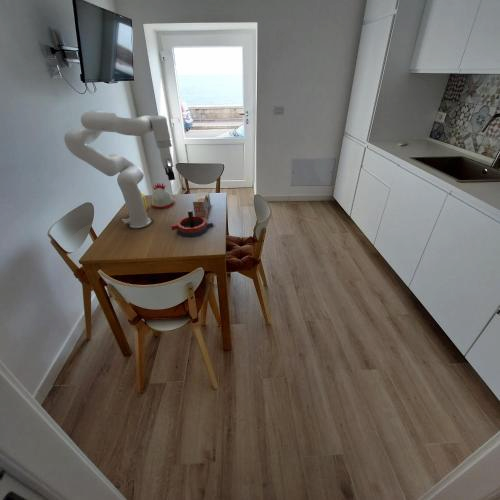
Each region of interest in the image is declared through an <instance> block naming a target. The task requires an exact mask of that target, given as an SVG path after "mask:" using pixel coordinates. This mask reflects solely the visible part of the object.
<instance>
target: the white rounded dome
mask: <svg viewBox="0 0 500 500" xmlns="http://www.w3.org/2000/svg"><path fill="white" fill-rule="evenodd" d="M152 188H153V189H154V190H153V192H152V194H151V207H152V208H153V209H156V210H164V209H165V210H166V209H168V208H171V207H172V206H174V199H173V197H172V195H171V193H170V192H169V191H168V190H167V189H166V185H164V183H160V182H159V183H158V182H157V183H156V184H154V185H153V186H152Z"/></svg>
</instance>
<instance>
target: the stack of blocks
mask: <svg viewBox="0 0 500 500" xmlns="http://www.w3.org/2000/svg"><path fill="white" fill-rule="evenodd" d="M192 205H193V214H194V216H201V217H204V218H205V219H206V220H207V217H208V215H209V211H210V209H211V198H210V192H205V191H204V192H199V193H196V194H195V197H194V198H193V200H192Z"/></svg>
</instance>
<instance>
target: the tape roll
mask: <svg viewBox="0 0 500 500" xmlns="http://www.w3.org/2000/svg"><path fill="white" fill-rule="evenodd" d="M141 194H142V198H143V201H144V205H145V209H146V212H147V211H148V210H149V207H148V204H147V200H146V196H145V194H144V193H141Z"/></svg>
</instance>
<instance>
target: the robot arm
mask: <svg viewBox="0 0 500 500" xmlns="http://www.w3.org/2000/svg"><path fill="white" fill-rule="evenodd" d="M80 123H81V125H80V126H77V127H73V128H71V129H69V130H67V131H66V133H65V134H64V136H63V137H64V138H63V139H64V144H65V146H66V148H67V149H68V151H69V152H70V153H71V154H72V155H73V156H74V157H76V158H78V159H80V160H81V161H83V162H84V163H86V164H88V165H90V166H91V167H92V168H94V169H96V170H97V171H99V172H101V173H102V174H103V175H106V176H107V177H114V176H116V175H118V176H117V178H116V182H117V185H118V187H119V189H120V191H121V194H122V196H123V200H124V203H125V206H126V210H127V213H128V216H129V217H127V218H122V219H121V222H122V223H124V224H128V226H129V227H130V228H132V229H142V228H145V227H149V225H151V224H152V219H151V218H150V217H148V214H147V211H146V209H145V205H144V201H143V198H142V194H143V193H142V191H141V189H140V188H139V185H138V184H139V183H140V182H142V181H143V179H144V176H145V175H144V174H145V173H144V172H143V170H142V169H141V167H139V166H138V165H137V164H135V163H134V162H132V161H131V160H129V159H128V158H127V157H125V156H123V155H121V154H119V153H111V154H109V155H106V154H105V153H103V152H101V151H100V150H98V149H96V148H94V147H92V146H88V145H90V144H92V143H94V142H95V141H96V140H97V139H98V138H99V137H100V136H101V135H102V133H104V132H105V133H117V134H120V135H123V136H133V137H143V136H145V135H147V134H149V133H151V132H152V133H153V137H154V142H155V147H156V148H157V149H158V151H159V156H160V161H161V166H162V168H163V169H164V171H165V175H166V176H167V179H168V181H175V180H176V177H175V172H174V162H173V156H172V151H171V148H172V147H173V144H172V137H171V133H170V128H169V127H170V126H169V121H168V118H167V116H165V115H141V116H137V117H136V118H134V117H122V116H121V117H120V116H119V115H118V114H117V113H116V112H105V111H103V110H101V109H92V110H88V111H85V112H83V113H82V114H81V116H80Z"/></svg>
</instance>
